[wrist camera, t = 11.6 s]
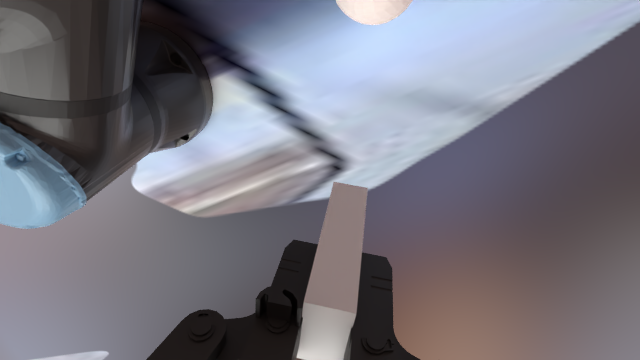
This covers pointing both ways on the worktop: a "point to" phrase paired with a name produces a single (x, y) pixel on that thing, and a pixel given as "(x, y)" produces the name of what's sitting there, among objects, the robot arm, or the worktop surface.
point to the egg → (373, 10)
